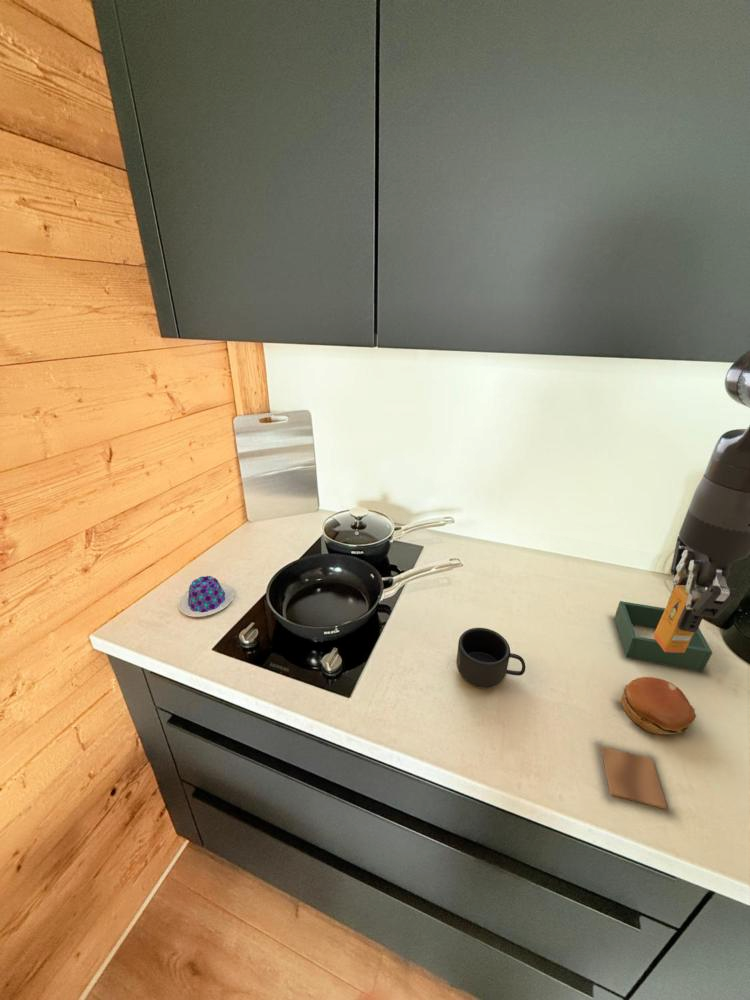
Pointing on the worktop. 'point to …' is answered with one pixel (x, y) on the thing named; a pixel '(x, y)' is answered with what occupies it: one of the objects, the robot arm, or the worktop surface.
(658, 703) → the burger
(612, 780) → the coaster
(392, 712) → the worktop surface
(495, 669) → the mug
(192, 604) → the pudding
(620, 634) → the basket
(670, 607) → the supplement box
